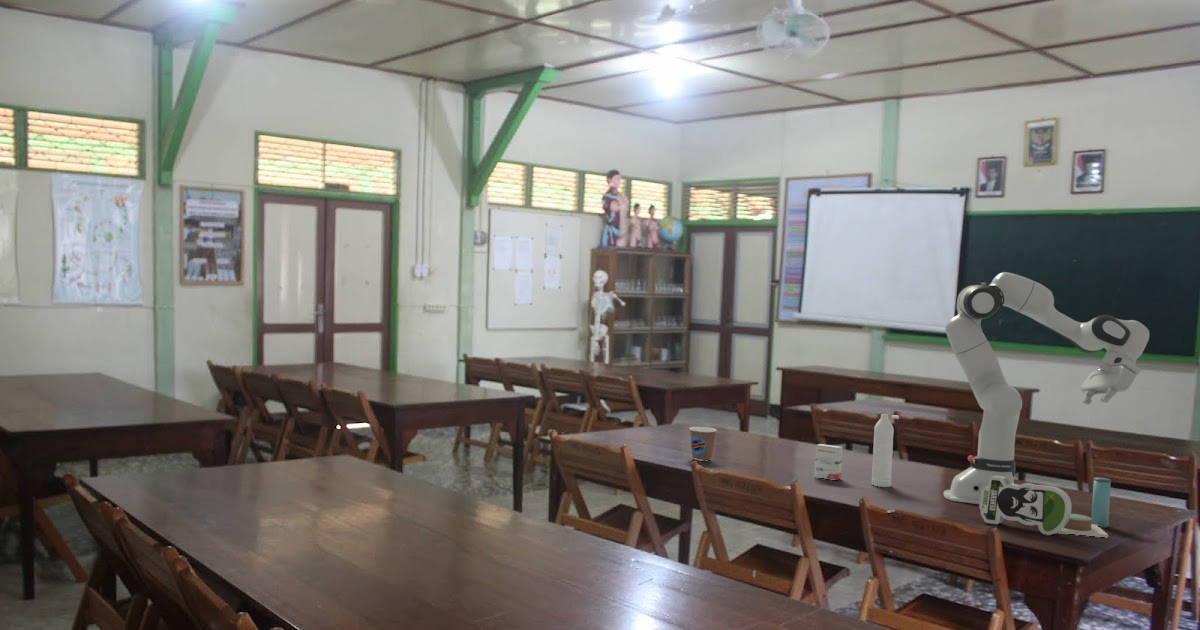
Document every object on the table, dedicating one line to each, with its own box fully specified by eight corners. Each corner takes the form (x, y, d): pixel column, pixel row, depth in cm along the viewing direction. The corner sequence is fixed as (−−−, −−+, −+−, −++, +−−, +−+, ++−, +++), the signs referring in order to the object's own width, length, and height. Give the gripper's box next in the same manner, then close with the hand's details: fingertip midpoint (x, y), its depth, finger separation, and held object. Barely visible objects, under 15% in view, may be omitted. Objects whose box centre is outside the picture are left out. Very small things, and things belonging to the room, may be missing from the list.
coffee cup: (683, 459, 362) (684, 428, 361) (698, 456, 369) (699, 426, 369) (705, 463, 355) (706, 432, 355) (720, 460, 363) (721, 429, 362)
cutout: (978, 475, 281) (1067, 483, 264) (982, 474, 283) (1070, 482, 266) (979, 526, 281) (1069, 537, 264) (983, 524, 283) (1072, 536, 266)
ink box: (841, 479, 336) (843, 446, 335) (837, 481, 331) (838, 447, 331) (818, 475, 340) (819, 443, 340) (813, 478, 336) (814, 444, 336)
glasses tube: (1093, 526, 280) (1095, 479, 280) (1089, 522, 284) (1091, 476, 284) (1110, 528, 279) (1113, 481, 278) (1105, 524, 283) (1108, 478, 283)
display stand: (1054, 533, 270) (1055, 519, 270) (1044, 523, 282) (1045, 509, 281) (1107, 538, 267) (1108, 524, 266) (1096, 527, 278) (1096, 514, 278)
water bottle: (867, 484, 328) (871, 413, 327) (878, 482, 332) (882, 412, 331) (889, 489, 321) (893, 416, 320) (900, 487, 325) (904, 415, 324)
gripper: (1088, 364, 309) (1067, 398, 307) (1127, 358, 289) (1105, 394, 287) (1103, 375, 309) (1083, 410, 307) (1144, 369, 289) (1122, 406, 287)
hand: (1094, 402), depth 297 cm, fingers open, 8 cm apart
